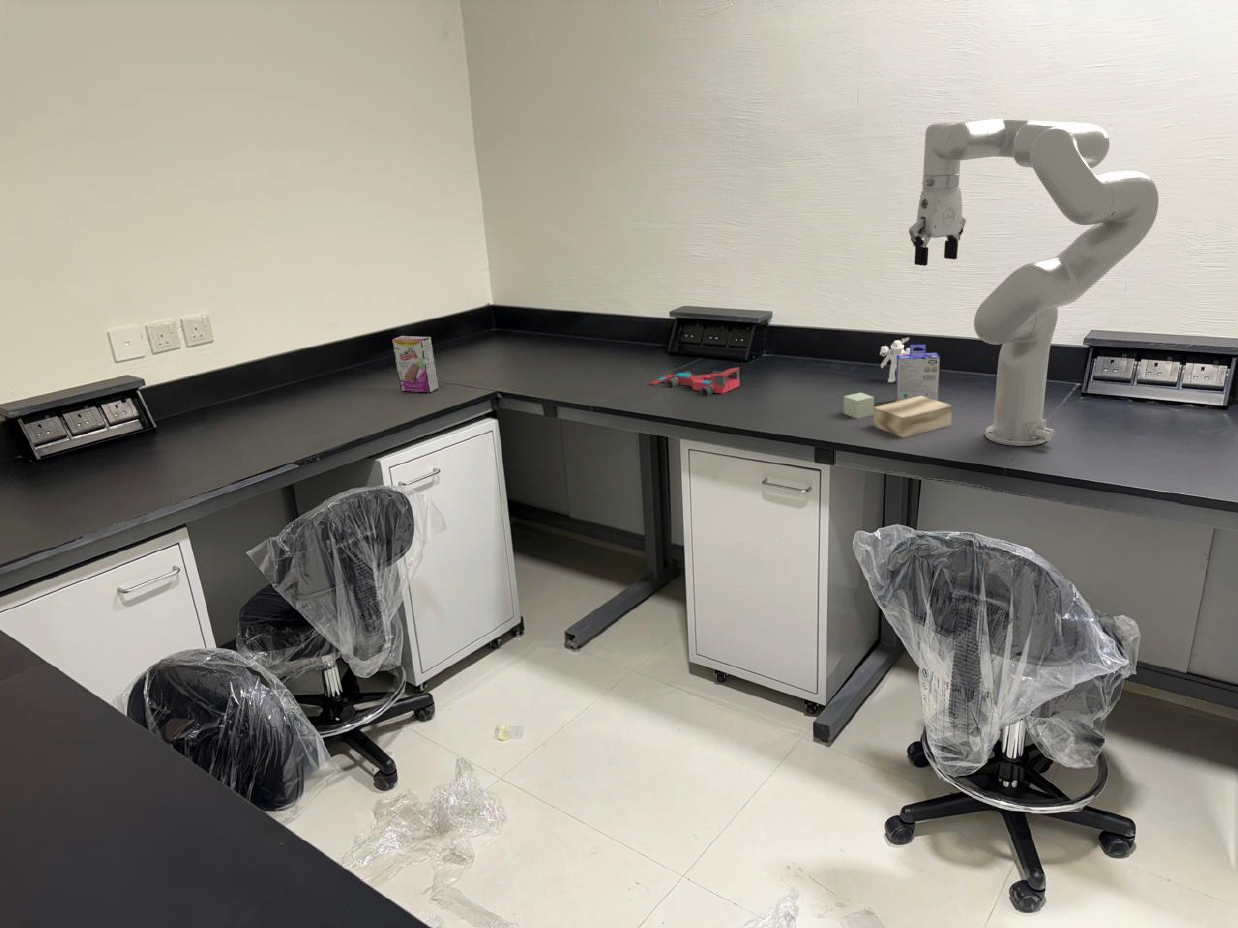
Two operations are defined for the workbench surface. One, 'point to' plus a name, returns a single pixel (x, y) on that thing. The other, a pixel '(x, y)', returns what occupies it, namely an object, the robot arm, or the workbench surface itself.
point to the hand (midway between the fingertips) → (935, 261)
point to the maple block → (912, 416)
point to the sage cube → (858, 405)
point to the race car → (704, 381)
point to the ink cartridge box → (917, 374)
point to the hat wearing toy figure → (894, 356)
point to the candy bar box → (415, 363)
